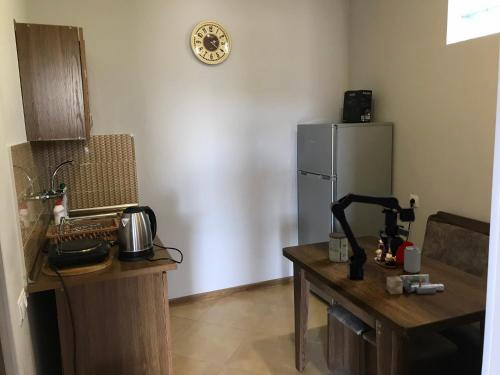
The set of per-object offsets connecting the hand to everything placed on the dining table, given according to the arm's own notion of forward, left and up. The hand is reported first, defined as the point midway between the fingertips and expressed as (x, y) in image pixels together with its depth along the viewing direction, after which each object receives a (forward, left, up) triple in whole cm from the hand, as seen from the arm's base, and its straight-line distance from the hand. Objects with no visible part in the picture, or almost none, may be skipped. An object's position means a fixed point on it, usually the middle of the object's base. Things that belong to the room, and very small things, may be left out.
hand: (390, 253), depth 194 cm
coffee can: (-18, +30, -12) cm, 37 cm away
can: (+14, +8, -12) cm, 20 cm away
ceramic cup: (+14, +24, -12) cm, 30 cm away
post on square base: (+10, -16, -12) cm, 22 cm away
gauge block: (-4, -16, -12) cm, 20 cm away
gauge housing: (+7, -15, -12) cm, 20 cm away
